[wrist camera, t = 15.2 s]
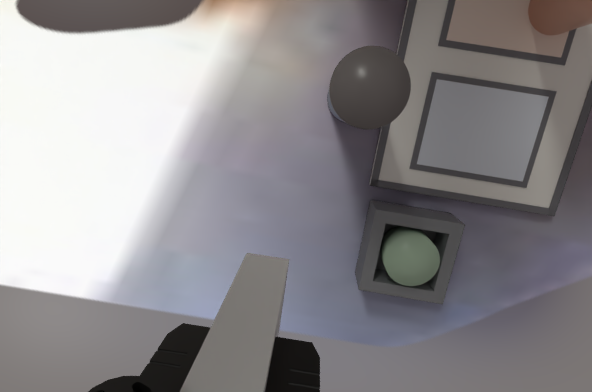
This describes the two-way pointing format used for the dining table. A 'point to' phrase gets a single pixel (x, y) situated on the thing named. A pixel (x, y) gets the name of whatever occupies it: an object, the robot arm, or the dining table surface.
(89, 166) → the dining table surface
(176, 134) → the dining table surface
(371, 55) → the slate blue marker
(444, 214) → the button base
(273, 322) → the robot arm
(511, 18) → the picture sheet
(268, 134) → the dining table surface
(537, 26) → the terracotta marker
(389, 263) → the button
